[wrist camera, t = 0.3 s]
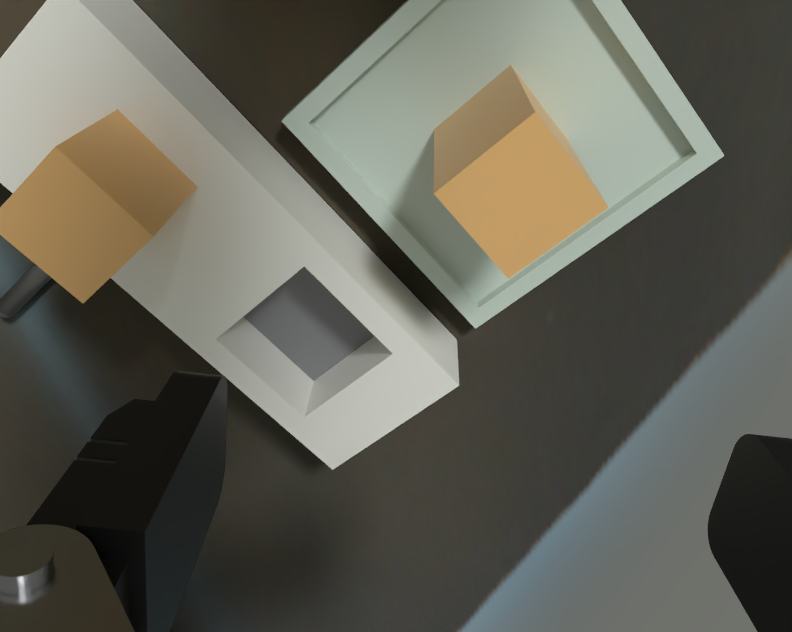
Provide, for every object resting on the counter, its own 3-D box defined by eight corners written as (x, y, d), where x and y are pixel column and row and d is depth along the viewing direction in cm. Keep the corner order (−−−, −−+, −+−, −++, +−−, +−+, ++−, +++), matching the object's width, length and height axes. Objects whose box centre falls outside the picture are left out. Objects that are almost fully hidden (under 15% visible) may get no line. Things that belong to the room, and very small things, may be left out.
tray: (534, -121, 26) (538, -123, 25) (714, 147, 30) (724, 155, 29) (286, 114, 30) (281, 121, 29) (474, 316, 35) (475, 328, 34)
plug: (510, 64, 28) (535, 111, 21) (568, 139, 30) (608, 207, 23) (434, 129, 30) (433, 193, 23) (492, 198, 31) (508, 278, 24)
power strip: (107, -26, 28) (-21, -5, 20) (456, 339, 35) (462, 459, 28) (-100, 224, 34) (-261, 317, 26) (237, 492, 41) (190, 626, 33)
